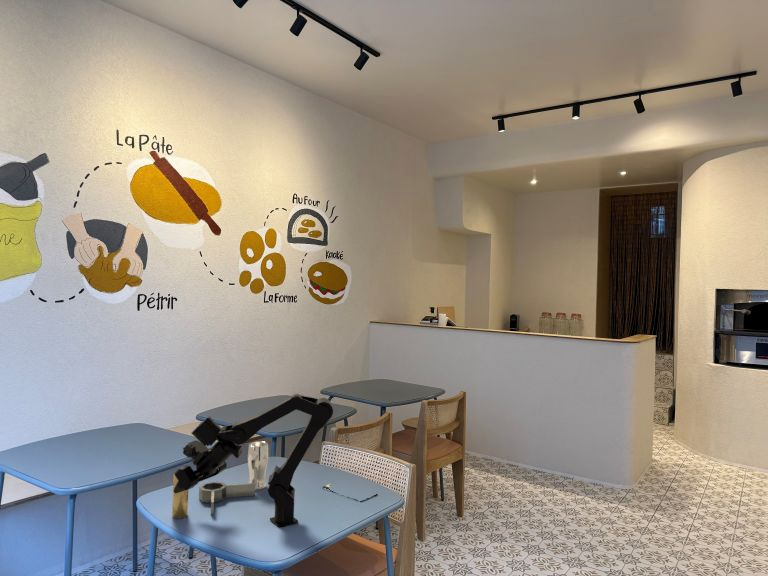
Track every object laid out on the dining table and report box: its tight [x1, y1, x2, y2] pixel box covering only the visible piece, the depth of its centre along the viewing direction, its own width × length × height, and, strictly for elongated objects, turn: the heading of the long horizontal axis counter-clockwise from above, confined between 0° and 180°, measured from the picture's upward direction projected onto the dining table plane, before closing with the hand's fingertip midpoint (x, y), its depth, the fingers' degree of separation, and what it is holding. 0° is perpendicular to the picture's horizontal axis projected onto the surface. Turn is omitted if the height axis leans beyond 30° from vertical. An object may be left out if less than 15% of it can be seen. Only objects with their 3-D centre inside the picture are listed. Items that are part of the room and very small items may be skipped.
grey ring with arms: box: [198, 481, 256, 516], centre depth 178 cm, size 17×18×4 cm
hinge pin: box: [171, 473, 189, 519], centre depth 165 cm, size 4×4×12 cm
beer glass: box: [247, 440, 269, 491], centre depth 191 cm, size 7×7×15 cm
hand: (184, 486), depth 165 cm, fingers open, 9 cm apart
